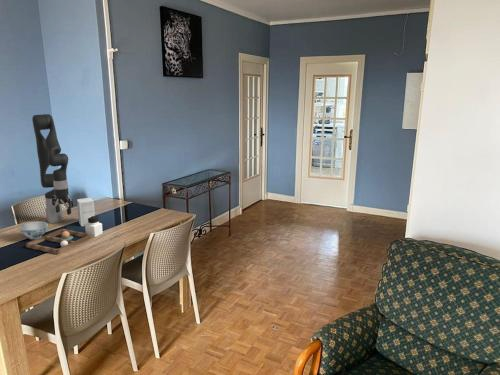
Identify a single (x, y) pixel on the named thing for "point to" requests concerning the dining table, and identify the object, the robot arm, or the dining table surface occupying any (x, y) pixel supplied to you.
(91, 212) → the supplement box
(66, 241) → the off-white ball
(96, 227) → the medicine bottle
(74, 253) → the dining table surface
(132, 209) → the dining table surface
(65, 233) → the terracotta ball
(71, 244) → the dark wooden tray
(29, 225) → the chinaware
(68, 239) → the felt pad
